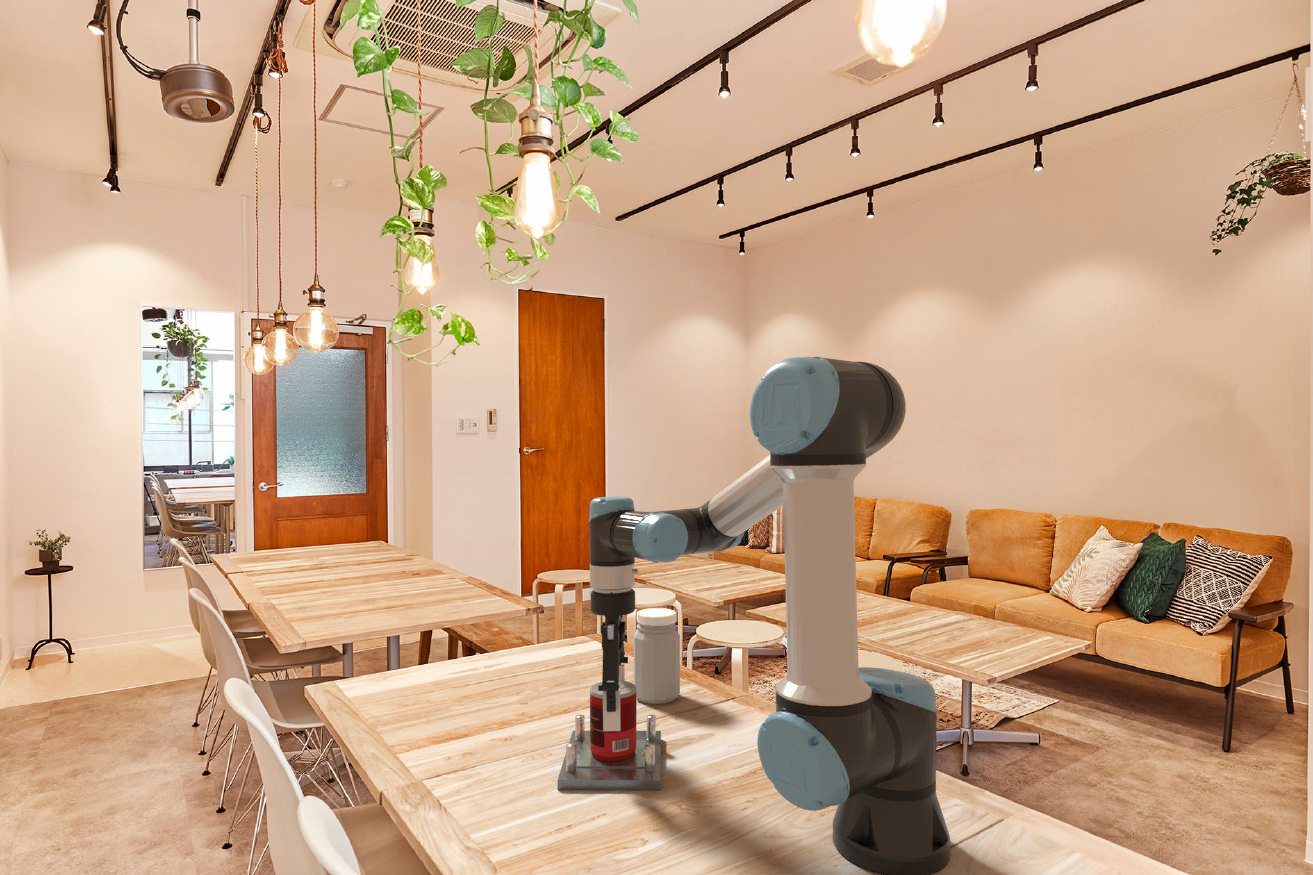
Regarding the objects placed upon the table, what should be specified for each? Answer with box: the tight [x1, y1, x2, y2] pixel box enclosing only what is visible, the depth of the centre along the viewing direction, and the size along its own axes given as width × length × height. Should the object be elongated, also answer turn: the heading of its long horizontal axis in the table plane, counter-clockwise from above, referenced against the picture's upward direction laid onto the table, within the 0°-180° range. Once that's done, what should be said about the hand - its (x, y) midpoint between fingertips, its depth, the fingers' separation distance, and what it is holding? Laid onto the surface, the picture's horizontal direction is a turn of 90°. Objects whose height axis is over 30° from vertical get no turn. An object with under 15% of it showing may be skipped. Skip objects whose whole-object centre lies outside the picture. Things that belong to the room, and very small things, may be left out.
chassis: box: [557, 714, 662, 791], centre depth 130 cm, size 20×16×6 cm
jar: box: [633, 607, 681, 705], centre depth 162 cm, size 10×10×18 cm
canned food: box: [589, 680, 638, 761], centre depth 130 cm, size 8×8×11 cm
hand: (614, 715), depth 130 cm, fingers open, 13 cm apart
